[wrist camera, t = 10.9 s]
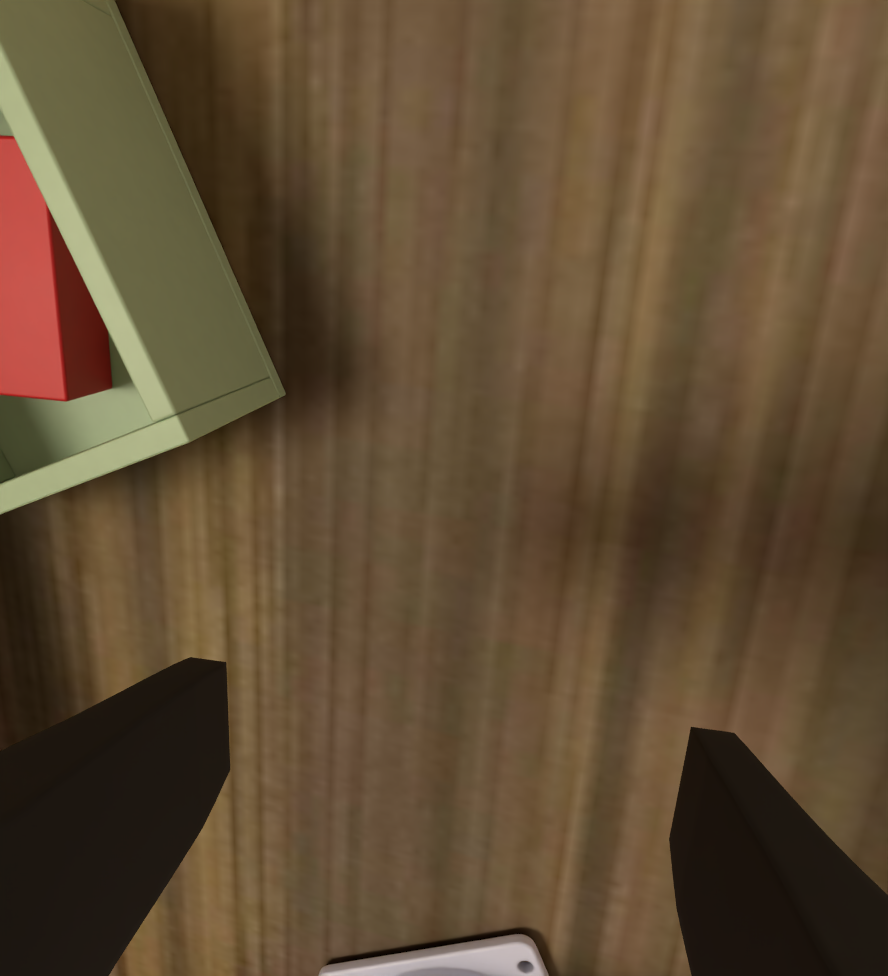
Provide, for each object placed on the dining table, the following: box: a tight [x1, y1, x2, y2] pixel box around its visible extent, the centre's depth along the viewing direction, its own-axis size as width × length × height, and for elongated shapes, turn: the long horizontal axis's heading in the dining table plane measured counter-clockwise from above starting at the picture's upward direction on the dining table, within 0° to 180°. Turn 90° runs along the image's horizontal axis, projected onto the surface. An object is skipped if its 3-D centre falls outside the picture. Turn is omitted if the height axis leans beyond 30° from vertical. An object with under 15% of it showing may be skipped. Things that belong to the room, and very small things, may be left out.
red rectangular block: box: [0, 135, 112, 402], centre depth 18 cm, size 6×3×2 cm, turn 176°
